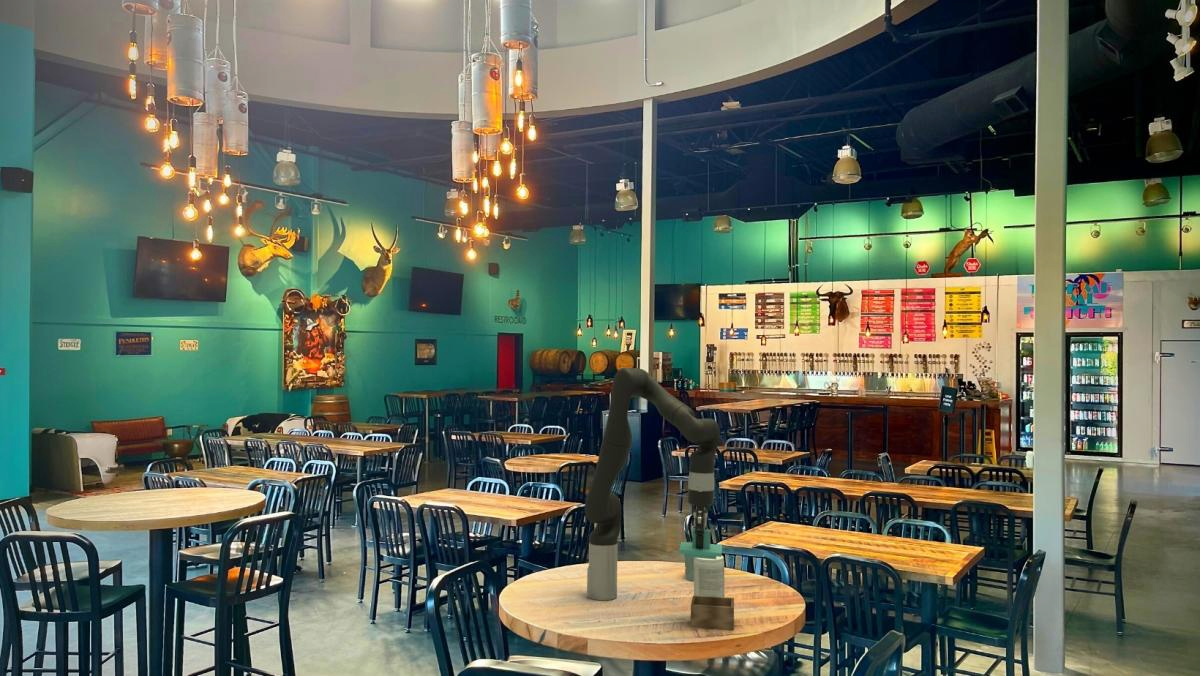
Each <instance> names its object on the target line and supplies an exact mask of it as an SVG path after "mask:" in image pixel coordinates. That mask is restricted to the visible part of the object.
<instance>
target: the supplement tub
mask: <svg viewBox="0 0 1200 676" xmlns="http://www.w3.org/2000/svg"><path fill="white" fill-rule="evenodd" d="M693 595H695V596H711V597H726V596H725V558H724V556H723V555H722V556H721V557H717V556H716V559H706V558H694V582H693Z"/></svg>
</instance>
